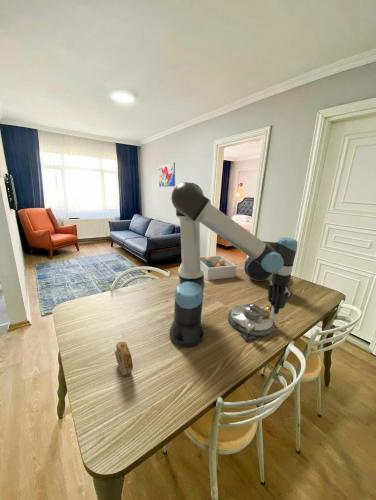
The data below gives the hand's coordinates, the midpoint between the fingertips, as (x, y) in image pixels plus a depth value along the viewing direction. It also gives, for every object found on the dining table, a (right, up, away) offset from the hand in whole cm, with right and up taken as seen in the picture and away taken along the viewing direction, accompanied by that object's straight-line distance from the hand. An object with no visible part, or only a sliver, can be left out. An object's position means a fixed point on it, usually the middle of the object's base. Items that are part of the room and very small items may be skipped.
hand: (272, 318), depth 100 cm
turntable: (-9, -1, +4) cm, 10 cm away
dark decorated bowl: (+10, +10, +54) cm, 56 cm away
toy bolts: (-20, +15, +65) cm, 70 cm away
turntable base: (-9, -4, +4) cm, 11 cm away
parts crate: (-20, +15, +63) cm, 68 cm away
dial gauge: (-14, -7, -6) cm, 17 cm away
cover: (-9, 0, +4) cm, 10 cm away
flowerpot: (+18, +4, +36) cm, 40 cm away
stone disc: (-63, -10, -25) cm, 69 cm away
